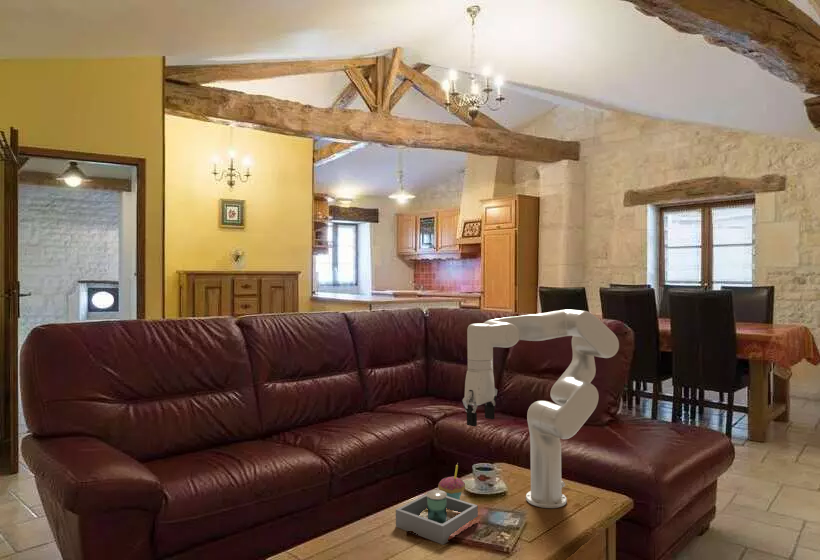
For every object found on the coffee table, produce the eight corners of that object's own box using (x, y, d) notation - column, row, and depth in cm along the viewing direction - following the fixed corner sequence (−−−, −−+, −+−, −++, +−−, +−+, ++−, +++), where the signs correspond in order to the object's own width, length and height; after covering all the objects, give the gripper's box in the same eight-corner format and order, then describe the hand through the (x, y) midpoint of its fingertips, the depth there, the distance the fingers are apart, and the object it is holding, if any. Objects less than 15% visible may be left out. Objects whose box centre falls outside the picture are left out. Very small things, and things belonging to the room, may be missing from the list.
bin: (431, 507, 176) (431, 491, 175) (477, 522, 165) (477, 505, 165) (395, 526, 163) (395, 509, 162) (443, 544, 152) (442, 526, 152)
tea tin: (435, 515, 168) (434, 488, 167) (451, 520, 164) (450, 493, 164) (423, 522, 163) (422, 494, 163) (439, 527, 159) (438, 499, 159)
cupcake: (465, 494, 185) (464, 458, 185) (465, 505, 176) (464, 467, 176) (439, 494, 186) (438, 458, 186) (437, 504, 177) (437, 467, 177)
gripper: (485, 360, 177) (485, 414, 178) (453, 367, 164) (453, 426, 164) (506, 362, 172) (506, 418, 173) (474, 370, 159) (475, 430, 159)
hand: (480, 422), depth 169 cm, fingers open, 9 cm apart
